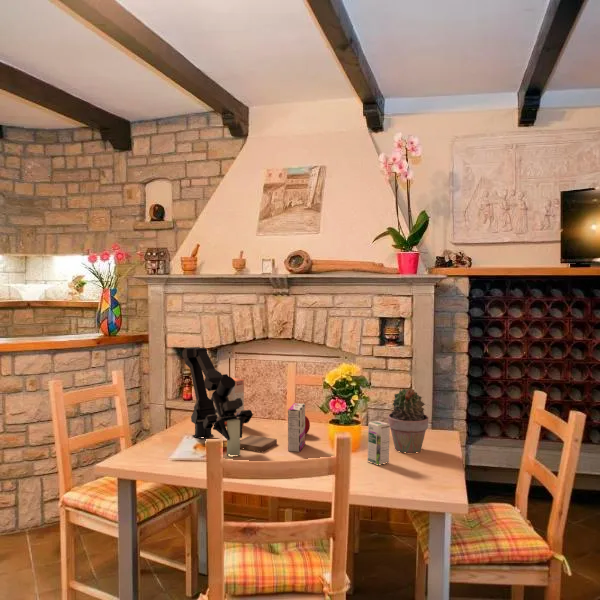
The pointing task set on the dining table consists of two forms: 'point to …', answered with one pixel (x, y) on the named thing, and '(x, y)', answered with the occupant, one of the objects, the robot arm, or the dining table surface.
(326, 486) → the dining table surface
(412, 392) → the potted plant
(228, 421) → the green blank
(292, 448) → the candy bar box
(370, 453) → the syrup box
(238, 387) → the cracker box
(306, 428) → the apple
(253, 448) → the brown flat square slab
